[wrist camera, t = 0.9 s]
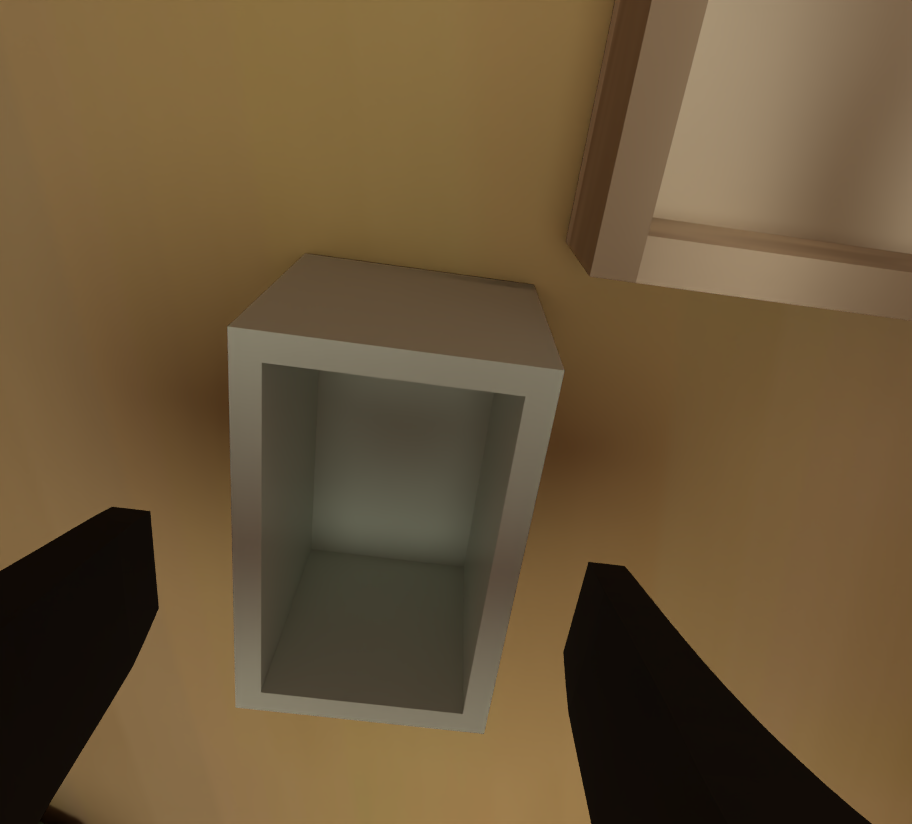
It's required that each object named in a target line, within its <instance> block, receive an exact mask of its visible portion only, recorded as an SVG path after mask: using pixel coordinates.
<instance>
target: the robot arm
mask: <svg viewBox="0 0 912 824" xmlns="http://www.w3.org/2000/svg"><path fill="white" fill-rule="evenodd" d="M158 609H159V606H158V595H157V584H156V572H155V561H154V549H153V538H152V527H151V515H150V511H144V510H135V509H127V508H118V507H111V508H109V509H107V510H105V511H103V512H101V513H99V514H98V515H96V516H94V517H92V518H90V519H89V520H87V521H85V522H83V523H82V524H80V525H78V526H77V527H75V528H73V529H71V530H70V531H68V532H66V533H65V534H63V535H61V536H60V537H58V538H56V539H55V540H53V541H51V542H49V543H48V544H46V545H44V546H43V547H41V548H39V549H38V550H36V551H34V552H32V553H31V554H29V555H27V556H25V557H24V558H22V559H20V560H19V561H17V562H15V563H13V564H12V565H10V566H8V567H6V568H5V569H3V570H1V571H0V824H38V823H39V821H40V819H41V818H42V816H43V814H44V812H45V811H46V809H47V807H48V805H49V803H50V802H51V800H52V799H53V797H54V795H55V794H56V792H57V790H58V789H59V787H60V785H61V784H62V782H63V781H64V779H65V777H66V776H67V774H68V772H69V771H70V769H71V768H72V766H73V764H74V763H75V761H76V759H77V758H78V756H79V754H80V753H81V751H82V750H83V748H84V746H85V745H86V743H87V741H88V740H89V738H90V736H91V735H92V733H93V732H94V730H95V728H96V727H97V725H98V723H99V722H100V720H101V719H102V717H103V715H104V714H105V712H106V710H107V709H108V707H109V705H110V704H111V702H112V700H113V699H114V697H115V695H116V694H117V692H118V690H119V689H120V687H121V685H122V684H123V682H124V680H125V679H126V677H127V675H128V674H129V672H130V670H131V668H132V667H133V665H134V663H135V660H136V658H137V656H138V654H139V652H140V650H141V648H142V645H143V643H144V641H145V639H146V637H147V634H148V632H149V630H150V627H151V625H152V623H153V620H154V618H155V616H156V613H157V611H158ZM563 654H564V667H565V680H566V692H567V702H568V712H569V717H570V723H571V728H572V733H573V738H574V743H575V747H576V752H577V757H578V762H579V767H580V772H581V776H582V781H583V786H584V791H585V796H586V800H587V805H588V810H589V815H590V819H591V824H871V823H870V822H869V821H868V820H866V819H865V818H864V817H863V816H862V815H860V814H859V813H858V812H857V811H856V810H854V809H853V808H852V807H851V806H849V805H848V804H847V803H846V802H845V801H844V800H843V799H841V798H840V797H839V796H838V795H837V794H836V793H835V792H833V791H832V790H831V789H830V788H829V787H828V786H826V785H825V784H824V783H823V782H822V781H821V780H820V779H819V778H818V777H817V776H815V775H814V774H813V773H812V772H811V771H810V770H809V769H808V768H807V767H806V766H805V765H804V764H803V763H801V762H800V761H799V760H798V759H797V758H796V757H795V756H794V755H793V754H792V753H791V752H790V751H789V750H788V749H786V748H785V747H784V746H783V745H782V744H781V743H780V742H779V741H778V740H777V739H776V738H775V737H774V736H773V735H772V734H771V733H770V732H769V731H768V730H767V729H766V728H765V727H764V726H763V725H762V724H761V723H760V722H759V721H758V720H757V719H756V718H755V717H754V716H753V715H752V714H751V713H750V712H749V711H748V710H747V709H746V708H745V707H744V705H743V704H742V703H741V702H740V701H739V700H738V699H737V698H736V697H735V696H734V695H733V694H732V693H731V692H730V691H729V690H728V689H727V688H726V686H725V685H724V684H723V683H722V682H721V681H720V680H719V679H718V678H717V676H716V675H715V674H714V673H713V672H712V671H711V670H710V669H709V668H708V666H707V665H706V664H705V663H704V662H703V661H702V659H701V658H700V657H699V656H698V655H697V654H696V653H695V651H694V650H693V649H692V648H691V647H690V645H689V644H688V643H687V642H686V641H685V640H684V638H683V637H682V636H681V635H680V634H679V632H678V631H677V630H676V629H675V628H674V626H673V625H672V624H671V623H670V621H669V620H668V619H667V618H666V617H665V615H664V614H663V613H662V612H661V610H660V609H659V608H658V607H657V605H656V604H655V603H654V602H653V600H652V599H651V598H650V597H649V595H648V594H647V593H646V592H645V590H644V589H643V588H642V587H641V585H640V584H639V583H638V582H637V580H636V579H635V578H634V577H633V576H632V574H631V573H630V572H629V571H628V570H627V568H626V567H625V566H619V565H610V564H602V563H593V562H588V566H587V570H586V573H585V577H584V580H583V584H582V588H581V591H580V595H579V598H578V602H577V605H576V609H575V613H574V616H573V620H572V623H571V627H570V631H569V634H568V638H567V641H566V645H565V649H564V652H563Z"/></svg>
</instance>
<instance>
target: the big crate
mask: <svg viewBox="0 0 912 824" xmlns="http://www.w3.org/2000/svg"><path fill="white" fill-rule="evenodd" d="M566 243H567V244H568V246H569V247H570V249H571V250H572V252H573V253H574V254H575V256H576V257H577V259H578V260H579V262H580V263H581V265H582V266H583V267H584V269H585V270H586V272H587V273H588V275H589V276H590V277H597V278H604V279H612V280H619V281H626V282H633V283H641V284H648V285H655V286H663V287H670V288H677V289H684V290H692V291H699V292H706V293H713V294H721V295H728V296H735V297H743V298H750V299H757V300H764V301H772V302H779V303H786V304H793V305H801V306H808V307H815V308H823V309H830V310H837V311H844V312H852V313H859V314H866V315H873V316H881V317H888V318H895V319H903V320H910V321H912V0H615V3H614V8H613V13H612V18H611V23H610V28H609V33H608V38H607V43H606V47H605V52H604V57H603V62H602V67H601V72H600V77H599V82H598V87H597V92H596V96H595V101H594V106H593V111H592V116H591V121H590V126H589V131H588V136H587V140H586V145H585V150H584V155H583V160H582V165H581V170H580V175H579V180H578V185H577V189H576V194H575V199H574V204H573V209H572V214H571V219H570V224H569V229H568V234H567V238H566Z"/></svg>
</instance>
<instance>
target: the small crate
mask: <svg viewBox="0 0 912 824" xmlns="http://www.w3.org/2000/svg"><path fill="white" fill-rule="evenodd" d="M227 332H228V378H229V423H230V469H231V515H232V561H233V607H234V653H235V698H236V708H246V709H255V710H265V711H274V712H283V713H293V714H302V715H312V716H321V717H330V718H340V719H349V720H359V721H368V722H377V723H387V724H396V725H406V726H415V727H425V728H434V729H443V730H453V731H462V732H472V733H481V734H484V731H485V726H486V722H487V717H488V713H489V708H490V704H491V699H492V695H493V690H494V686H495V681H496V677H497V672H498V668H499V663H500V659H501V654H502V650H503V645H504V641H505V636H506V632H507V628H508V623H509V619H510V614H511V610H512V605H513V601H514V596H515V592H516V587H517V583H518V578H519V574H520V569H521V565H522V560H523V556H524V551H525V547H526V542H527V538H528V533H529V529H530V524H531V520H532V515H533V511H534V506H535V502H536V497H537V493H538V488H539V484H540V479H541V475H542V470H543V466H544V461H545V457H546V452H547V448H548V443H549V439H550V434H551V430H552V425H553V421H554V416H555V412H556V407H557V403H558V398H559V394H560V389H561V385H562V380H563V376H564V371H565V370H564V367H563V365H562V362H561V359H560V356H559V353H558V351H557V348H556V345H555V342H554V339H553V337H552V334H551V331H550V328H549V325H548V323H547V320H546V317H545V314H544V312H543V309H542V306H541V303H540V300H539V298H538V295H537V292H536V289H535V286H534V285H533V284H525V283H518V282H511V281H503V280H496V279H489V278H481V277H474V276H467V275H459V274H452V273H445V272H437V271H430V270H423V269H415V268H408V267H401V266H393V265H386V264H379V263H371V262H364V261H357V260H349V259H342V258H335V257H327V256H320V255H313V254H304V255H303V256H302V257H301V258H300V259H299V260H298V261H297V262H296V263H294V264H293V265H292V266H291V267H290V268H289V269H288V270H287V271H286V272H285V273H284V274H283V275H282V276H281V277H280V278H278V279H277V280H276V281H275V282H274V283H273V284H272V285H271V286H270V287H269V288H268V289H267V290H266V291H265V292H264V293H262V294H261V295H260V296H259V297H258V298H257V299H256V300H255V301H254V302H253V303H252V304H251V305H250V306H249V307H248V308H246V309H245V310H244V311H243V312H242V313H241V314H240V315H239V316H238V317H237V318H236V319H235V320H234V321H233V322H232V323H231V324H229V325H228V326H227Z"/></svg>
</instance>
